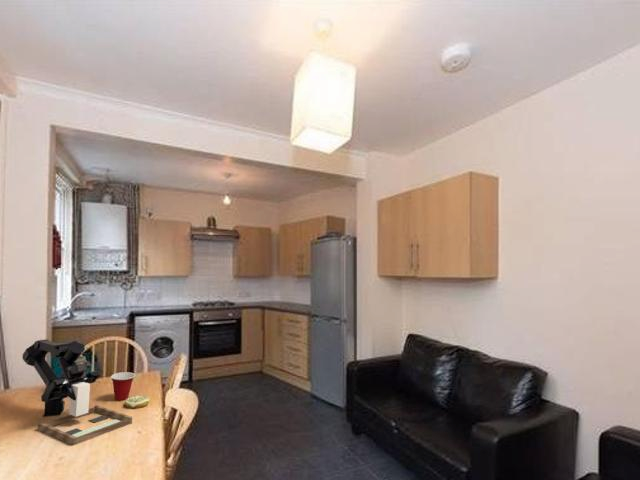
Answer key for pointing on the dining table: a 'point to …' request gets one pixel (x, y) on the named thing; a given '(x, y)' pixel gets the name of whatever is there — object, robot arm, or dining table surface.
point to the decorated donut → (137, 401)
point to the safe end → (96, 428)
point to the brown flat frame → (74, 440)
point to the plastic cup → (122, 385)
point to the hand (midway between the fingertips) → (81, 398)
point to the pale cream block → (80, 399)
